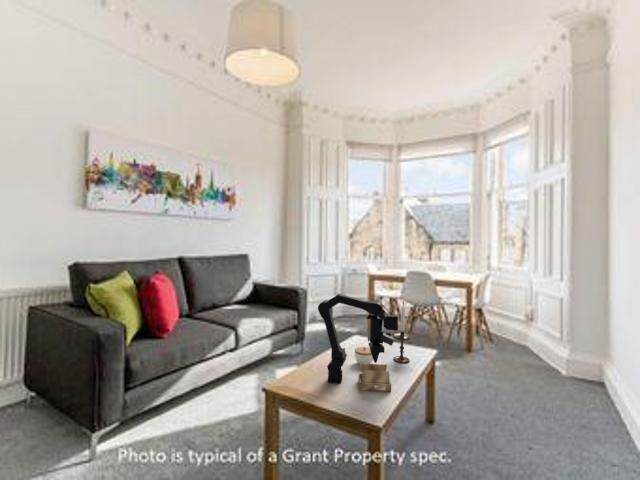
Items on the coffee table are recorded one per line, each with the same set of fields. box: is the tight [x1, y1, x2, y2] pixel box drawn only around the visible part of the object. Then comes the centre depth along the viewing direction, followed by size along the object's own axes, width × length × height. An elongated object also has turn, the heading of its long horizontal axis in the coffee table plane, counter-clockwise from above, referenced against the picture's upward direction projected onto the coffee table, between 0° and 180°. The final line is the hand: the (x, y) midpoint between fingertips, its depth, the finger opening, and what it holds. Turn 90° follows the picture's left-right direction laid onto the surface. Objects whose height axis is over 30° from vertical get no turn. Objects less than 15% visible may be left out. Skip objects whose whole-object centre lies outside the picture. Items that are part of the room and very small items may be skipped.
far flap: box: [360, 363, 388, 373], centre depth 171 cm, size 12×5×1 cm
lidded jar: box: [354, 346, 374, 366], centre depth 195 cm, size 11×11×9 cm
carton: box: [357, 372, 392, 393], centre depth 167 cm, size 15×11×4 cm
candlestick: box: [392, 300, 413, 364], centre depth 201 cm, size 11×11×35 cm
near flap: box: [361, 370, 390, 383], centre depth 162 cm, size 12×5×1 cm
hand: (375, 361), depth 166 cm, fingers open, 3 cm apart
